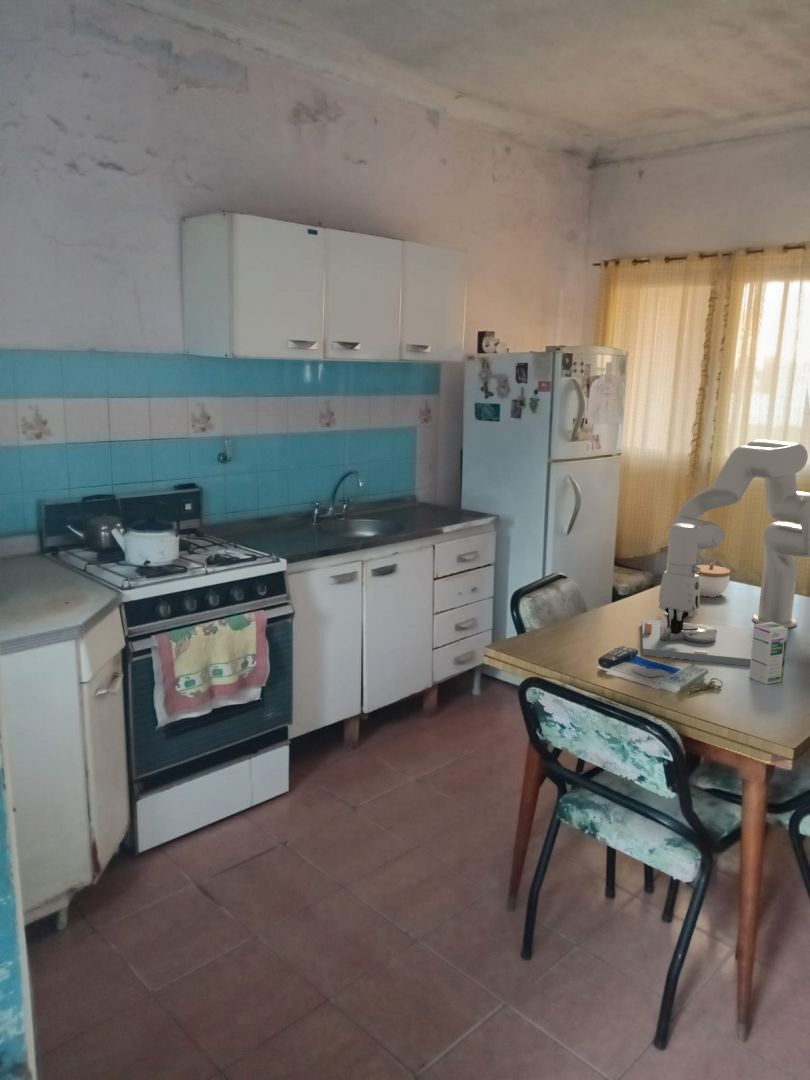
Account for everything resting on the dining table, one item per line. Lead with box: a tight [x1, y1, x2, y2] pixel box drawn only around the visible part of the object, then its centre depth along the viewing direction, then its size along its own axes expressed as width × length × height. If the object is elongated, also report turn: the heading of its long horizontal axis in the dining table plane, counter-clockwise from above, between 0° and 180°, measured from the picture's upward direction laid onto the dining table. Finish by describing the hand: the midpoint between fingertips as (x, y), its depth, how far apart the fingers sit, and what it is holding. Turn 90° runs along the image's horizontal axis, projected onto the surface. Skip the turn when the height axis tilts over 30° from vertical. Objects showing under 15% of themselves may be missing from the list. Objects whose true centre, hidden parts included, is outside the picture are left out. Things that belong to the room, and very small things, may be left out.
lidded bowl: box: [695, 562, 731, 598], centre depth 286 cm, size 13×13×11 cm
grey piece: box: [659, 611, 717, 643], centre depth 233 cm, size 16×10×8 cm, turn 100°
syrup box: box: [749, 621, 789, 685], centre depth 208 cm, size 6×6×14 cm
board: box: [641, 618, 753, 667], centre depth 234 cm, size 28×30×5 cm
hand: (676, 632), depth 228 cm, fingers closed
